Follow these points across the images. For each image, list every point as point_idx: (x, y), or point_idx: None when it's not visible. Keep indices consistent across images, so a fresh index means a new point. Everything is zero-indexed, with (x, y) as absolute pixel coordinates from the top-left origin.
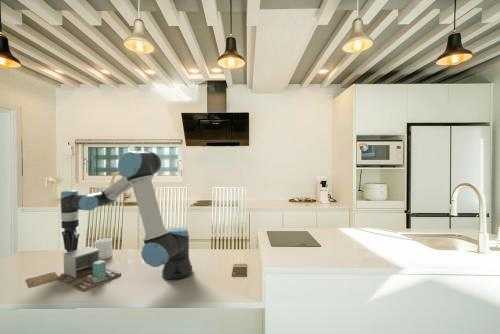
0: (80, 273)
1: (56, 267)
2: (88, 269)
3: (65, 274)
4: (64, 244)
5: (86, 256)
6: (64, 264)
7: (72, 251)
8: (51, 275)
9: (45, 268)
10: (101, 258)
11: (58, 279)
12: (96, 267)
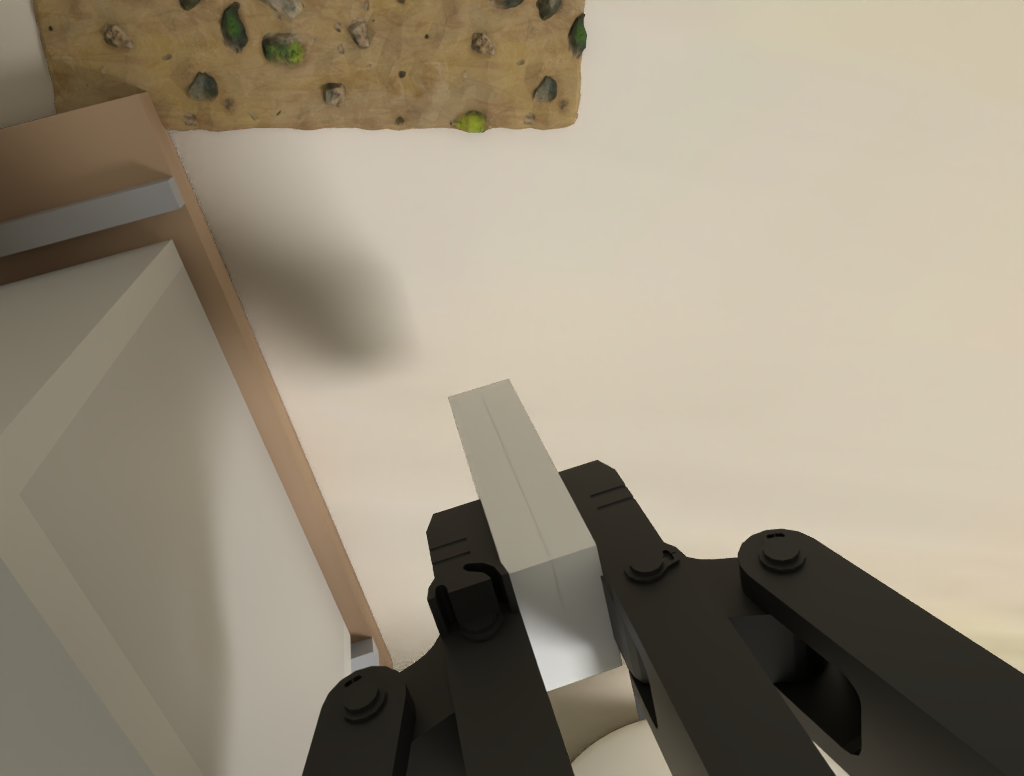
0: None
1: (795, 199)
2: None
3: None
4: (935, 653)
5: None
6: (67, 318)
7: (52, 770)
8: (397, 28)
9: (917, 28)
10: (580, 764)
11: (57, 100)
12: None
